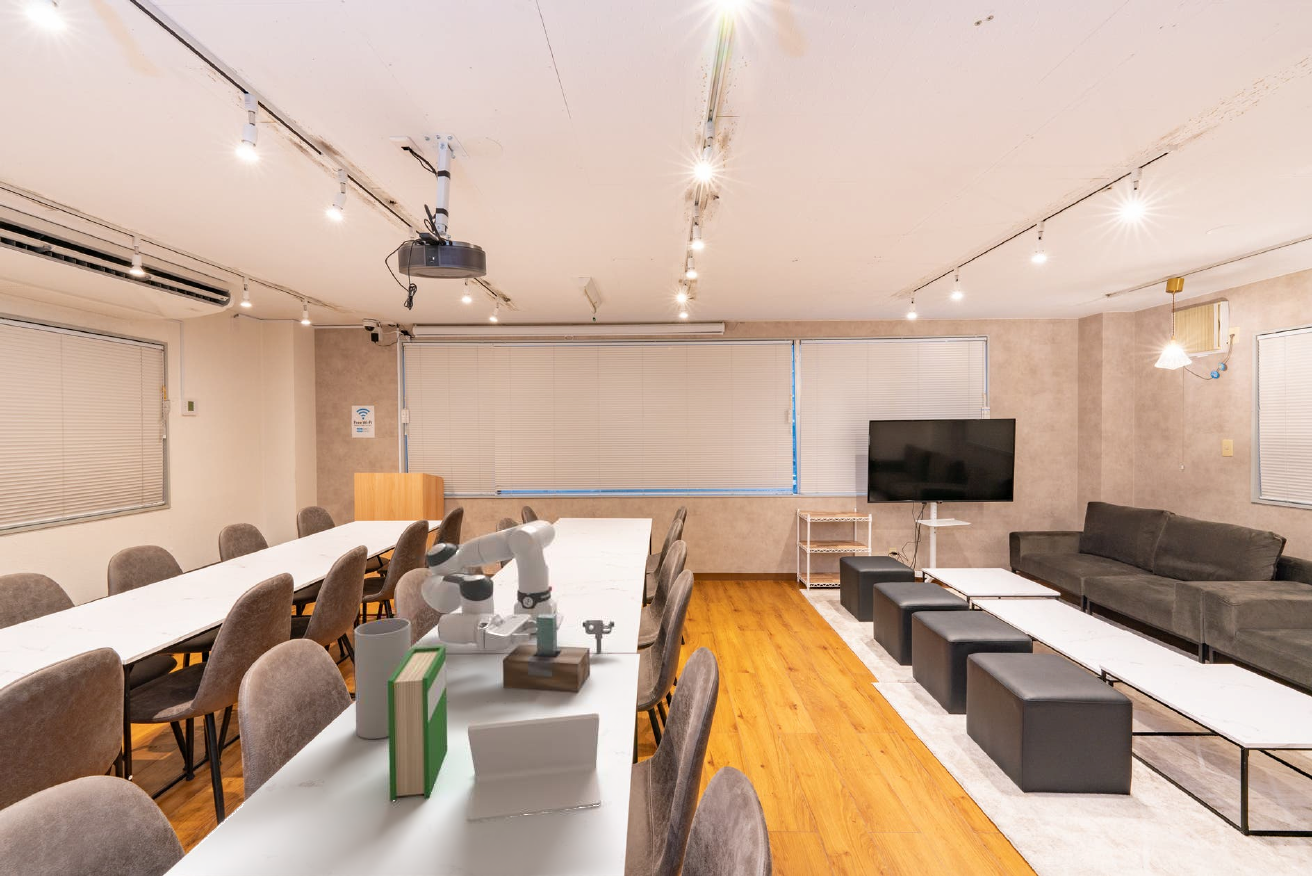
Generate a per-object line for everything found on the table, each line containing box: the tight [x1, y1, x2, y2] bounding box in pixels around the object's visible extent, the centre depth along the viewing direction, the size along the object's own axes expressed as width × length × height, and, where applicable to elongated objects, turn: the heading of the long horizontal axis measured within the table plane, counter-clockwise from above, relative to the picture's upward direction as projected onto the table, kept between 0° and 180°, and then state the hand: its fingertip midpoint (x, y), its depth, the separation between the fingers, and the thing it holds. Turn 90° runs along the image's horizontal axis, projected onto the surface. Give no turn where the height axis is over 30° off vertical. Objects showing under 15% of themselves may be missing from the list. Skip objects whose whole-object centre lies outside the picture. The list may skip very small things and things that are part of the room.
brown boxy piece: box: [502, 644, 591, 693], centre depth 170 cm, size 12×22×8 cm, turn 81°
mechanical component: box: [582, 619, 615, 654], centre depth 192 cm, size 3×10×10 cm, turn 89°
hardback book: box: [388, 645, 448, 802], centre depth 124 cm, size 18×7×24 cm, turn 9°
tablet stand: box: [467, 713, 602, 823], centre depth 119 cm, size 18×25×17 cm
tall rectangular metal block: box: [536, 614, 558, 658], centre depth 169 cm, size 3×5×15 cm, turn 80°
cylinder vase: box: [353, 617, 412, 740], centre depth 144 cm, size 12×12×25 cm
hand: (535, 631), depth 170 cm, fingers open, 8 cm apart
